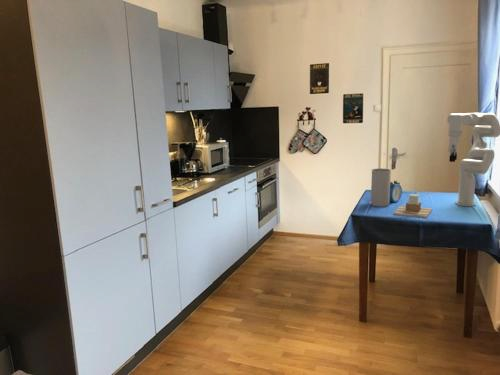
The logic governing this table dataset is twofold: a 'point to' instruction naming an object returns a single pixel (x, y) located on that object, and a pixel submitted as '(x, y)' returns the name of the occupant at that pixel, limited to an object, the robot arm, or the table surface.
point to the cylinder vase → (380, 187)
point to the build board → (422, 212)
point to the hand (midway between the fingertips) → (452, 160)
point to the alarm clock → (395, 191)
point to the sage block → (413, 198)
